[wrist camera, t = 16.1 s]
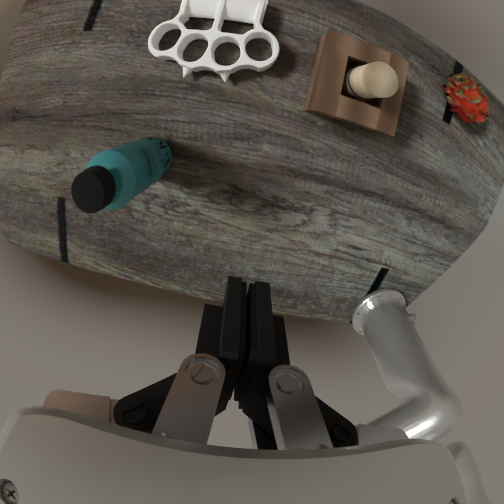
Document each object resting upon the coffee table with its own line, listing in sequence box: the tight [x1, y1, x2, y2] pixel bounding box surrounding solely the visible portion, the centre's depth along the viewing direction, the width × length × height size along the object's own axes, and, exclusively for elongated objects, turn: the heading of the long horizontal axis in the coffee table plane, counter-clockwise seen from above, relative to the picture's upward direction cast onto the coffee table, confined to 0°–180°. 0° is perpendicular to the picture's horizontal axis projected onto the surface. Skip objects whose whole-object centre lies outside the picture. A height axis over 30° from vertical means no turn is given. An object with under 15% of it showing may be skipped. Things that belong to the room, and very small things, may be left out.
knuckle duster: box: [148, 0, 279, 83], centre depth 28 cm, size 3×18×15 cm
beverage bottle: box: [71, 137, 173, 213], centre depth 29 cm, size 6×7×20 cm
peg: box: [341, 61, 399, 99], centre depth 27 cm, size 5×5×10 cm
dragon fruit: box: [442, 73, 490, 124], centre depth 28 cm, size 8×8×12 cm
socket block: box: [304, 29, 409, 137], centre depth 30 cm, size 12×12×6 cm
